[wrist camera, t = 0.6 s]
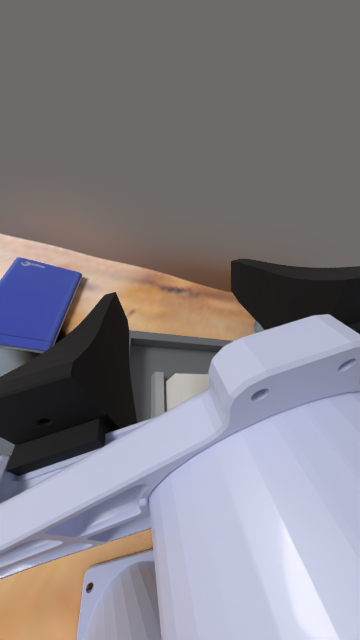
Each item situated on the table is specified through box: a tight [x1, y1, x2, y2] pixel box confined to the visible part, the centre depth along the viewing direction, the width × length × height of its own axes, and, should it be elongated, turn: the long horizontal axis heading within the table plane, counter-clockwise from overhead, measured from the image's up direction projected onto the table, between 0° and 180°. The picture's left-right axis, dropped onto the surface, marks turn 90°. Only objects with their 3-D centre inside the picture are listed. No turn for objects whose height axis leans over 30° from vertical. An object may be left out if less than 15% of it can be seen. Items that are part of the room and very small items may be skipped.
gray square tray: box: [129, 330, 233, 423], centre depth 23 cm, size 16×16×3 cm
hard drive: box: [0, 257, 82, 353], centre depth 24 cm, size 2×8×12 cm
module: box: [164, 373, 210, 412], centre depth 22 cm, size 4×5×5 cm
